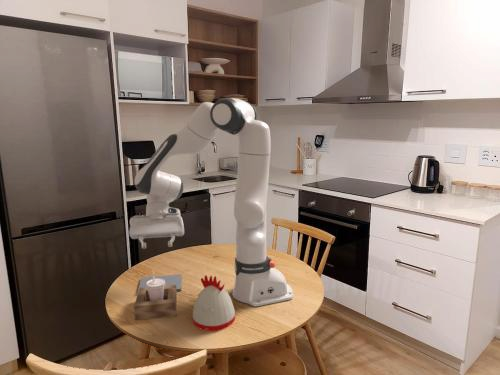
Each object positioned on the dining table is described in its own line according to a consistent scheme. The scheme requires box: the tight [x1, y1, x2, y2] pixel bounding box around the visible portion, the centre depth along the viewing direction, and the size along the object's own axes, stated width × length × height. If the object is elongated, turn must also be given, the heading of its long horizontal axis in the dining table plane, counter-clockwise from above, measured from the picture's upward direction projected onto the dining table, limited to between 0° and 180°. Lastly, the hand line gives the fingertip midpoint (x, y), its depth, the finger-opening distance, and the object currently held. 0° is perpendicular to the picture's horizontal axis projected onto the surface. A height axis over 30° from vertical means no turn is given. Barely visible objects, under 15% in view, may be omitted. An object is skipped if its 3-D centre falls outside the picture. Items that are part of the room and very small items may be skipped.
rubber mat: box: [136, 273, 182, 295], centre depth 144 cm, size 16×13×1 cm
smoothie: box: [146, 270, 165, 301], centre depth 126 cm, size 6×6×14 cm
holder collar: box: [133, 285, 178, 321], centre depth 127 cm, size 13×13×5 cm
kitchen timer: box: [192, 275, 236, 332], centre depth 119 cm, size 14×14×15 cm
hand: (157, 247), depth 136 cm, fingers open, 8 cm apart
